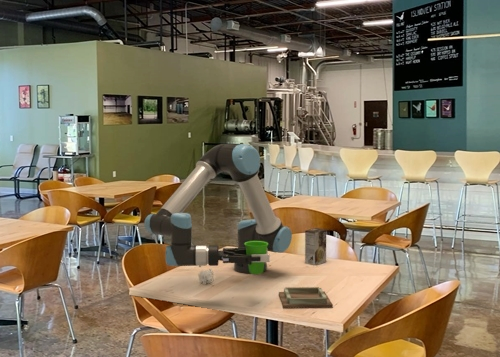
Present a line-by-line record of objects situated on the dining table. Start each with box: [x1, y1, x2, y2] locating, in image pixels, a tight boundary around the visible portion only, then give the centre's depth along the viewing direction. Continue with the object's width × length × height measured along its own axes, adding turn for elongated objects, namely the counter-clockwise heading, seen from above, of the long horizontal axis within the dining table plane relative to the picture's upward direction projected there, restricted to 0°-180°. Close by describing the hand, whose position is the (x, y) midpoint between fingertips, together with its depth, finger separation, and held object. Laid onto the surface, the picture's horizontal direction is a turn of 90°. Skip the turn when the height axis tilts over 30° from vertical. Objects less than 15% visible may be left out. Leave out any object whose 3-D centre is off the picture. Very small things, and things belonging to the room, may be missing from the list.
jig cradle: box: [278, 286, 334, 309], centre depth 209 cm, size 16×18×3 cm
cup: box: [244, 241, 268, 275], centre depth 206 cm, size 9×9×11 cm
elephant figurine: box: [198, 268, 214, 285], centre depth 231 cm, size 7×8×6 cm
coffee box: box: [304, 227, 327, 266], centre depth 267 cm, size 9×6×16 cm
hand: (268, 255), depth 206 cm, fingers closed on cup, 9 cm apart
